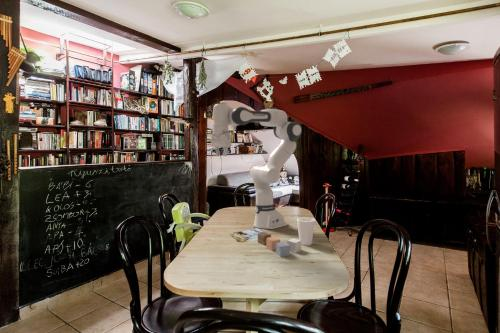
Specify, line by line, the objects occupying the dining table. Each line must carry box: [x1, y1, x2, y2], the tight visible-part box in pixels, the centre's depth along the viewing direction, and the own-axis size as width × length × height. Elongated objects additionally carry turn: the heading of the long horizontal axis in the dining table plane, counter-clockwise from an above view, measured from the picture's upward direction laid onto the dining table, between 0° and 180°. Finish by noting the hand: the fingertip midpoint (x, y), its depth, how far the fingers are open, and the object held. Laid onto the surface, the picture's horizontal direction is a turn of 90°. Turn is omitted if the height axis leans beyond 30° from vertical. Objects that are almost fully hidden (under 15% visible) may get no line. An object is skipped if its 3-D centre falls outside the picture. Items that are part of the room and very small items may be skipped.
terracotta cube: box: [265, 236, 281, 251], centre depth 148 cm, size 5×5×5 cm
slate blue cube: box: [275, 241, 291, 258], centre depth 140 cm, size 5×5×5 cm
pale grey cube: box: [286, 237, 302, 254], centre depth 145 cm, size 5×5×5 cm
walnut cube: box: [257, 231, 272, 246], centre depth 156 cm, size 5×5×5 cm
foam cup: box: [296, 216, 316, 246], centre depth 154 cm, size 10×9×13 cm
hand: (221, 155), depth 169 cm, fingers open, 8 cm apart
